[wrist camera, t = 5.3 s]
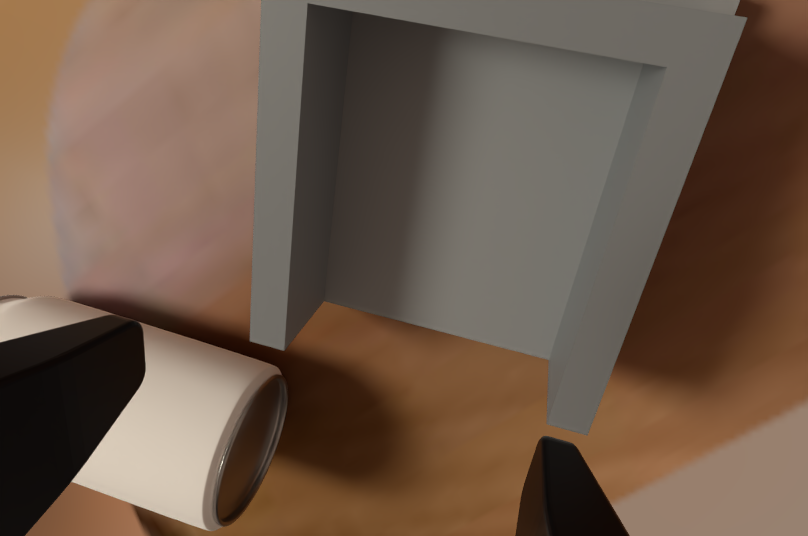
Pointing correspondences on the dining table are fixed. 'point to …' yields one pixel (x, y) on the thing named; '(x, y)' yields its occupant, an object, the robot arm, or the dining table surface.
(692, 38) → the u rest
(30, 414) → the robot arm
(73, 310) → the can
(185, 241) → the dining table surface
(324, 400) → the dining table surface
